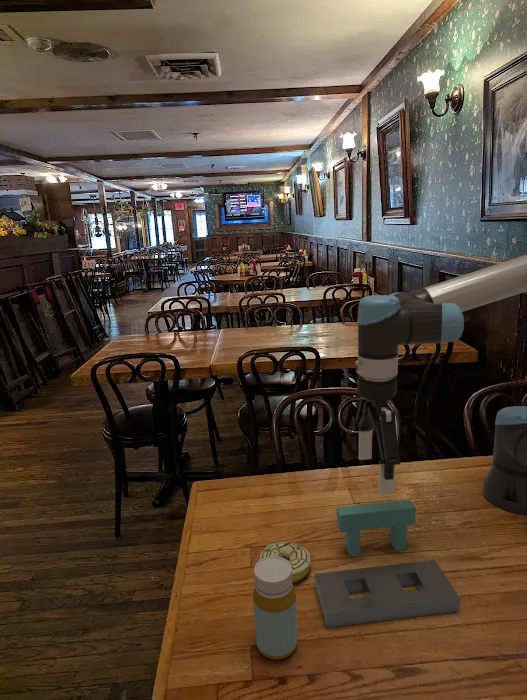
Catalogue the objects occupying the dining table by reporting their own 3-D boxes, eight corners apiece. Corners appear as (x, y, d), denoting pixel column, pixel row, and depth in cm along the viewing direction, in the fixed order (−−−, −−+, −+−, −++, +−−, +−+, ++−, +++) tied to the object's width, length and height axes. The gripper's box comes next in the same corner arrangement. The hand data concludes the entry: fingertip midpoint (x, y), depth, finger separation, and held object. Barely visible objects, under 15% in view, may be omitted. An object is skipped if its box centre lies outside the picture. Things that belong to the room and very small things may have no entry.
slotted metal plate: (434, 572, 96) (434, 559, 95) (458, 611, 86) (459, 597, 86) (315, 586, 94) (314, 573, 93) (326, 628, 84) (326, 613, 84)
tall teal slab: (408, 540, 106) (410, 499, 103) (414, 548, 103) (415, 507, 101) (337, 548, 105) (336, 507, 102) (340, 557, 102) (340, 515, 99)
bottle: (294, 665, 78) (291, 586, 74) (252, 659, 79) (246, 581, 75) (300, 629, 84) (297, 556, 80) (260, 625, 86) (256, 552, 82)
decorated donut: (297, 547, 106) (296, 532, 105) (320, 578, 96) (319, 562, 95) (252, 560, 103) (251, 544, 102) (271, 594, 93) (270, 578, 92)
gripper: (341, 359, 106) (341, 448, 111) (379, 399, 82) (376, 510, 87) (375, 357, 106) (373, 445, 112) (422, 396, 82) (417, 506, 88)
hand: (375, 474), depth 99 cm, fingers open, 13 cm apart
